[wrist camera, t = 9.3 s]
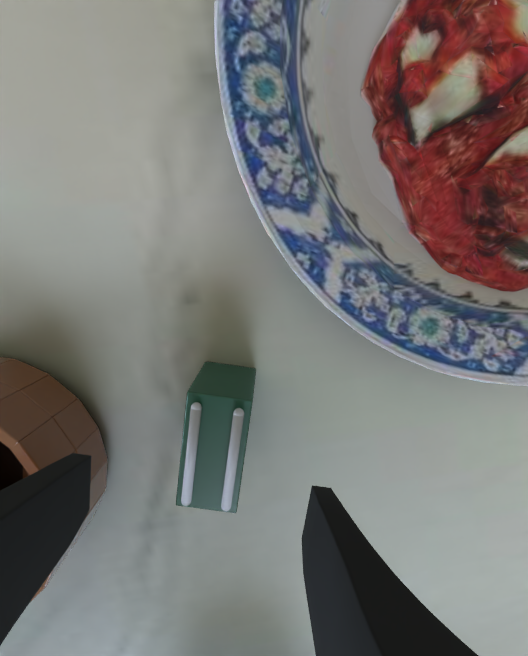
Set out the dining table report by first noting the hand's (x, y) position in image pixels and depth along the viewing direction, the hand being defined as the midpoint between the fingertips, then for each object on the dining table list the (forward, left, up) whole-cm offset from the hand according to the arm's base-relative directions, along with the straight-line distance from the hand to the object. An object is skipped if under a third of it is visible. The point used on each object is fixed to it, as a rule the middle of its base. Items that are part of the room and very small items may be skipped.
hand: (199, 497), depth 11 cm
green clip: (0, 0, -6) cm, 6 cm away
